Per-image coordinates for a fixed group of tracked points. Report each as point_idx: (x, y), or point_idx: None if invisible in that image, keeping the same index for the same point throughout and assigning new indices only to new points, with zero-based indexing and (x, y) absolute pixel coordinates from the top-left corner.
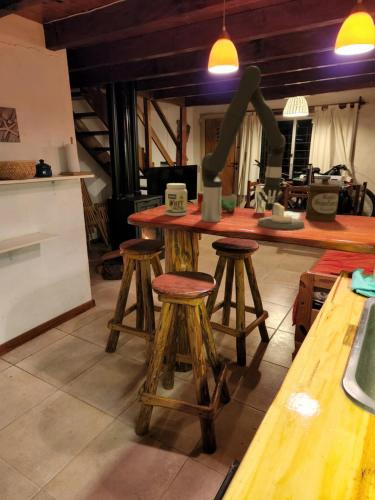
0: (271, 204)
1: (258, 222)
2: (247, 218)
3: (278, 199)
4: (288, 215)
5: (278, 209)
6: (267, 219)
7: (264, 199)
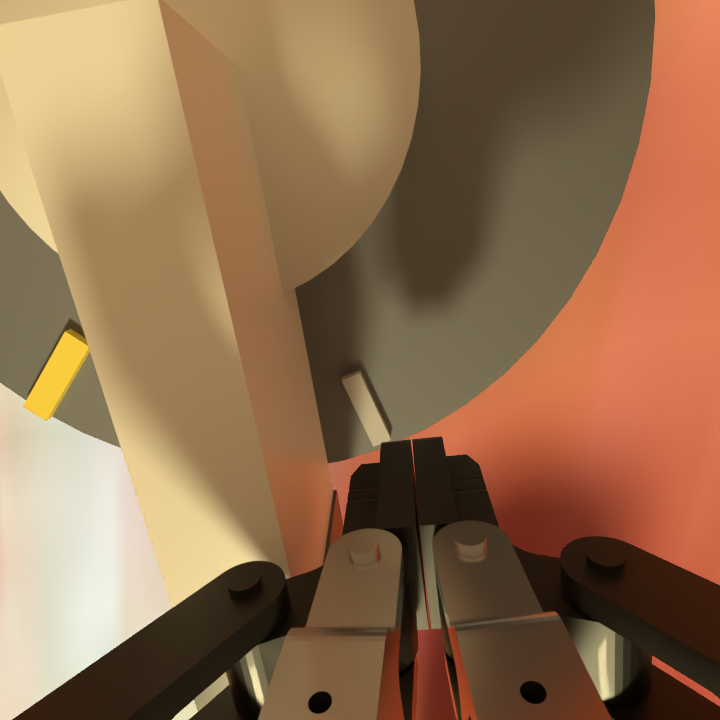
0: (383, 517)
1: (642, 14)
2: (706, 471)
3: (143, 645)
4: (29, 170)
5: (215, 133)
6: (447, 233)
7: (683, 594)
